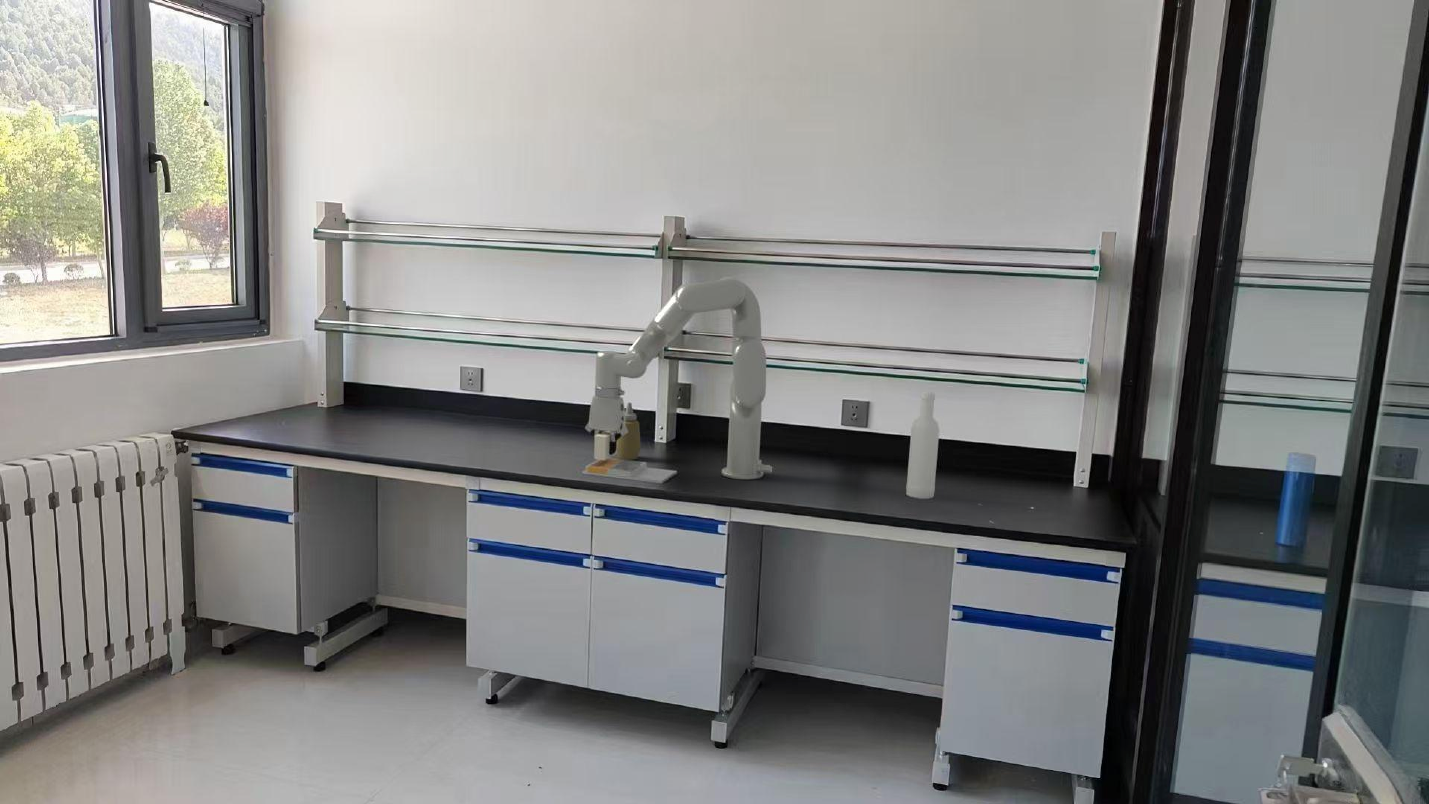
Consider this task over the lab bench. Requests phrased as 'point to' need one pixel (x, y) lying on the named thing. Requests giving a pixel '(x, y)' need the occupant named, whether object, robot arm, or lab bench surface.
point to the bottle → (923, 451)
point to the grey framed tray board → (628, 470)
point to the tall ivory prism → (602, 446)
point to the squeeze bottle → (629, 437)
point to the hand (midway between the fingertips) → (605, 452)
